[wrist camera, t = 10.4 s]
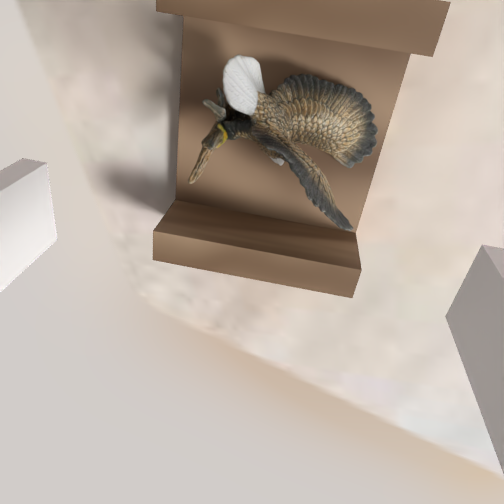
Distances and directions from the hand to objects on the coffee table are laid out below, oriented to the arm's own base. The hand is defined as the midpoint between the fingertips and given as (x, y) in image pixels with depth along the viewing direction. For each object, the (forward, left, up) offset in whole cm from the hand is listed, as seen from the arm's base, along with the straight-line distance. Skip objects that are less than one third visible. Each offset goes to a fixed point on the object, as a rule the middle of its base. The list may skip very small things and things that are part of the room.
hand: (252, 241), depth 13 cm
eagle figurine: (0, +1, -14) cm, 14 cm away
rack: (0, 0, -14) cm, 14 cm away
